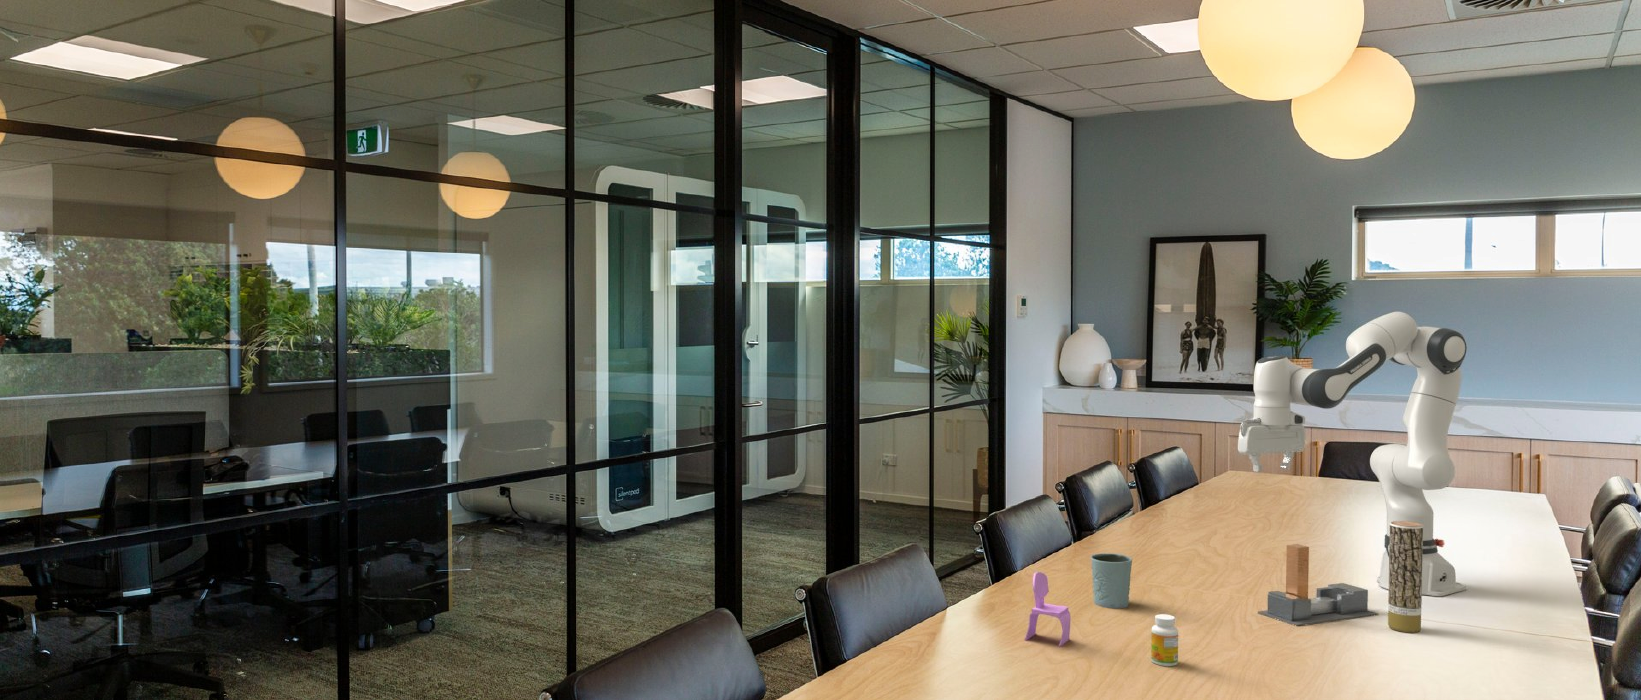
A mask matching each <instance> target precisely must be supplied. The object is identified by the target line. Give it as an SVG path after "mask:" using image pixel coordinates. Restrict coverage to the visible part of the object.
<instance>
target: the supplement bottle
mask: <svg viewBox="0 0 1641 700" xmlns="http://www.w3.org/2000/svg"><path fill="white" fill-rule="evenodd" d="M1154 617H1155V618H1154V623H1155V624H1154V625H1153V626H1152V627H1151V637H1150V638H1151V639H1150V640H1151V645H1150V660H1151V662H1152V663H1153V664H1155V665H1158V666H1162V667H1172V666H1173V667H1175V666H1176V665H1177V664H1178V662H1179V661H1178V660H1179V629H1178V628H1177V627H1176V626H1175V624H1176V617H1175V616H1173V615H1170V614H1165V613H1161V614H1156V615H1155V616H1154Z"/></svg>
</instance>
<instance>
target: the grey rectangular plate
mask: <svg viewBox="0 0 1641 700" xmlns="http://www.w3.org/2000/svg"><path fill="white" fill-rule="evenodd" d="M1267 611H1268V609H1267V610H1260V611H1257V614H1259V613H1260V614H1259V615H1262V614H1263V615H1262V616H1265V617H1267V618H1272V619H1274V618H1276V619H1275V620H1277V619H1279V620H1278V621H1280V620H1281V621H1280V622H1283V621H1284V622H1283V623H1286V622H1287V623H1286V624H1289V625H1292V624H1294V625H1293V626H1295V625H1296V626H1295V627H1300V626H1299V625H1302V626H1306V625H1305V624H1309V625H1315V624H1322V623H1323V622H1324V623H1330V622H1329V621H1331V622H1336V620H1338V621H1345V620H1344V619H1346V620H1350V618H1353V619H1360V618H1367V617H1374V615H1375V616H1379V613H1378V612H1376V611H1372V610H1368V611H1367V612H1359V613H1352V614H1345V615H1340V614H1337V612H1329V613H1321V614H1314V615H1311V619H1307V620H1300V621H1292V622H1291V621H1288V620H1285V619H1282V618H1279V617H1276V616H1273V615H1270V614H1267ZM1342 619H1343V620H1342ZM1324 623H1323V624H1324Z"/></svg>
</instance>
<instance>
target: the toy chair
mask: <svg viewBox="0 0 1641 700" xmlns="http://www.w3.org/2000/svg"><path fill="white" fill-rule="evenodd" d="M1048 582H1049V580H1048V577H1047V574H1046V573H1044V572H1041V571H1036V572H1034V573H1033V577H1032V590H1033V595H1034V602H1035V606H1034V607H1032V608H1031V612H1030V614H1029V618H1028V622H1029V623H1028V628H1027V631H1026V634H1025V638H1024V641H1027V640H1029V639H1030V638H1032V637H1033V636H1035V635H1036V633H1037V632H1036V631H1037V623H1038V619H1039V615H1044V616H1049V617H1054V618H1057V619H1058V620H1059V622H1060V625H1061V630H1062V632H1061V637H1060V641H1059V644H1058V647H1059V648H1060V647H1062V646H1063V645H1064V644H1065V643H1067V642H1068V641H1069V640H1070V634H1071V633H1070V631H1071V612H1070V611H1069V606H1065V605H1055V604H1051V603H1045V598H1046V597H1047V595H1048V594H1049V583H1048Z"/></svg>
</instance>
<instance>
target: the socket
mask: <svg viewBox="0 0 1641 700" xmlns="http://www.w3.org/2000/svg"><path fill="white" fill-rule="evenodd" d="M1267 610H1268V611H1267V614H1270V615H1273V616H1276V617H1279V618H1282V619H1285V620H1288V621H1291V622H1292V621H1300V620H1307V619H1311V599H1310V598H1309V597H1308V598H1304V599H1302V598H1300V597H1297V596H1294V595H1290V594H1287V593H1286V591H1284V592H1283V591H1281V590H1280V591H1279V590H1274V591H1273V590H1272V591H1268V593H1267Z"/></svg>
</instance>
